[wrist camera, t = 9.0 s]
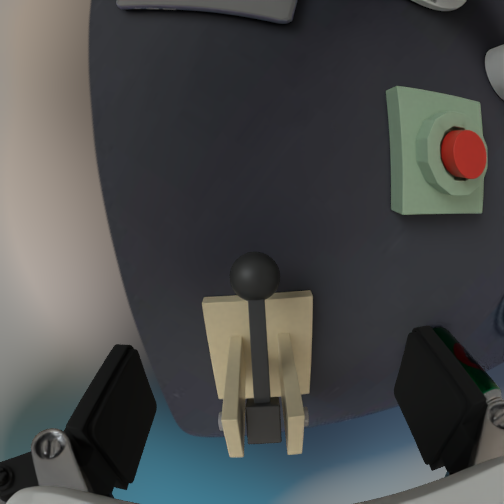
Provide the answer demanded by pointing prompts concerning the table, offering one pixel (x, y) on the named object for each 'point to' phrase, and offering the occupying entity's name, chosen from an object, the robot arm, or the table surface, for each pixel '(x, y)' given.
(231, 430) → the lever bracket
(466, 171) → the button
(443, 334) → the soda can
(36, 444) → the robot arm
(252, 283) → the ball knob handle
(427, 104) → the control block
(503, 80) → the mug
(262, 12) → the smartphone
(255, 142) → the table surface
